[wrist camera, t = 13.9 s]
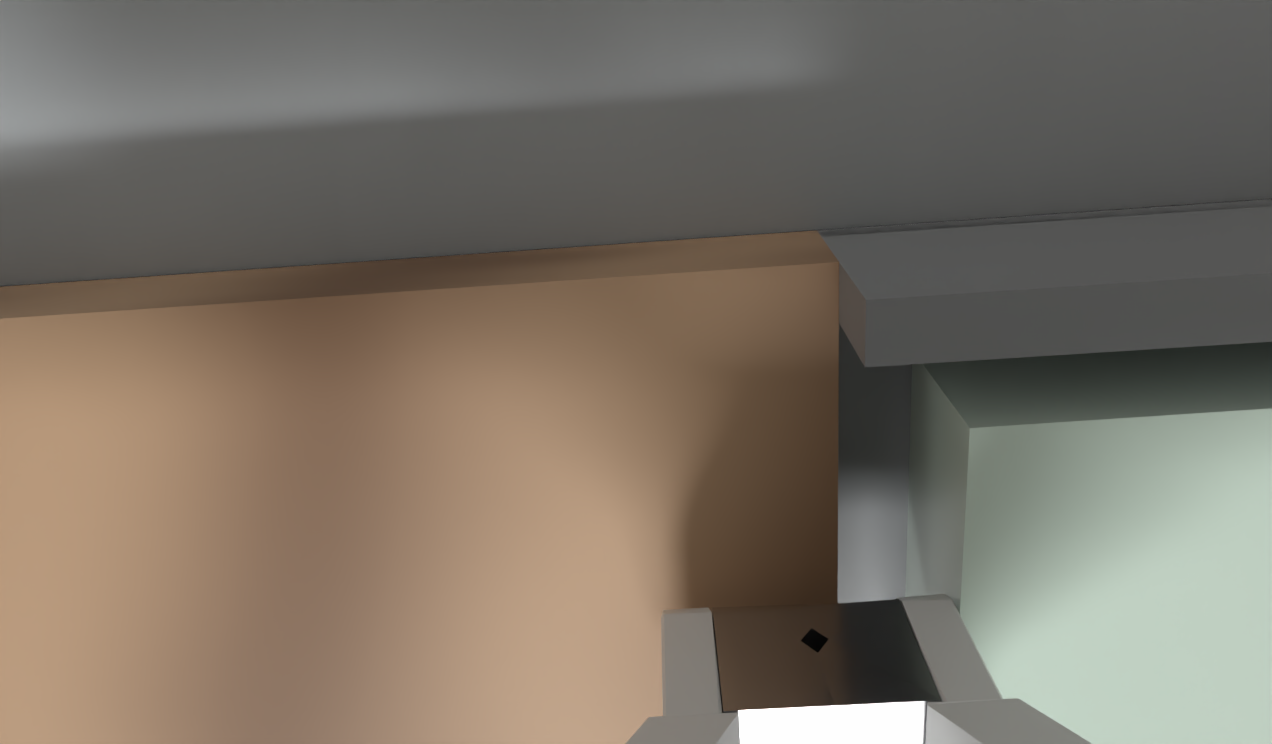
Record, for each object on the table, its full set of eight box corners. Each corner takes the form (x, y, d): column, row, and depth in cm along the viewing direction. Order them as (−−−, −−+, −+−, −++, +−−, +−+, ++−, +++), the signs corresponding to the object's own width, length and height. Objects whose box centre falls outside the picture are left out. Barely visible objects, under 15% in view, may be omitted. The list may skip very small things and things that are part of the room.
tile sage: (1482, 310, 10) (1669, 382, 8) (1384, 691, 12) (1519, 818, 10) (912, 350, 10) (969, 429, 9) (902, 715, 12) (947, 845, 10)
